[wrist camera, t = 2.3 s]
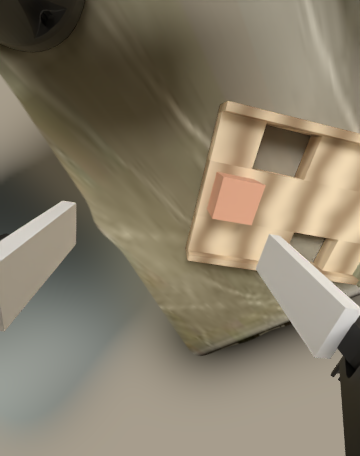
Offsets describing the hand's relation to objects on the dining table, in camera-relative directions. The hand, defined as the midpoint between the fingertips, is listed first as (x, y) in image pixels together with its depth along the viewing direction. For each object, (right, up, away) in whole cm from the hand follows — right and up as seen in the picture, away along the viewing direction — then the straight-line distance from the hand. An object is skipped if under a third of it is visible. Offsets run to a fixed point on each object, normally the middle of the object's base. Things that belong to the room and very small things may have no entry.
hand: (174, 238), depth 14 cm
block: (+8, +6, +18) cm, 20 cm away
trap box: (+18, +5, +21) cm, 28 cm away
